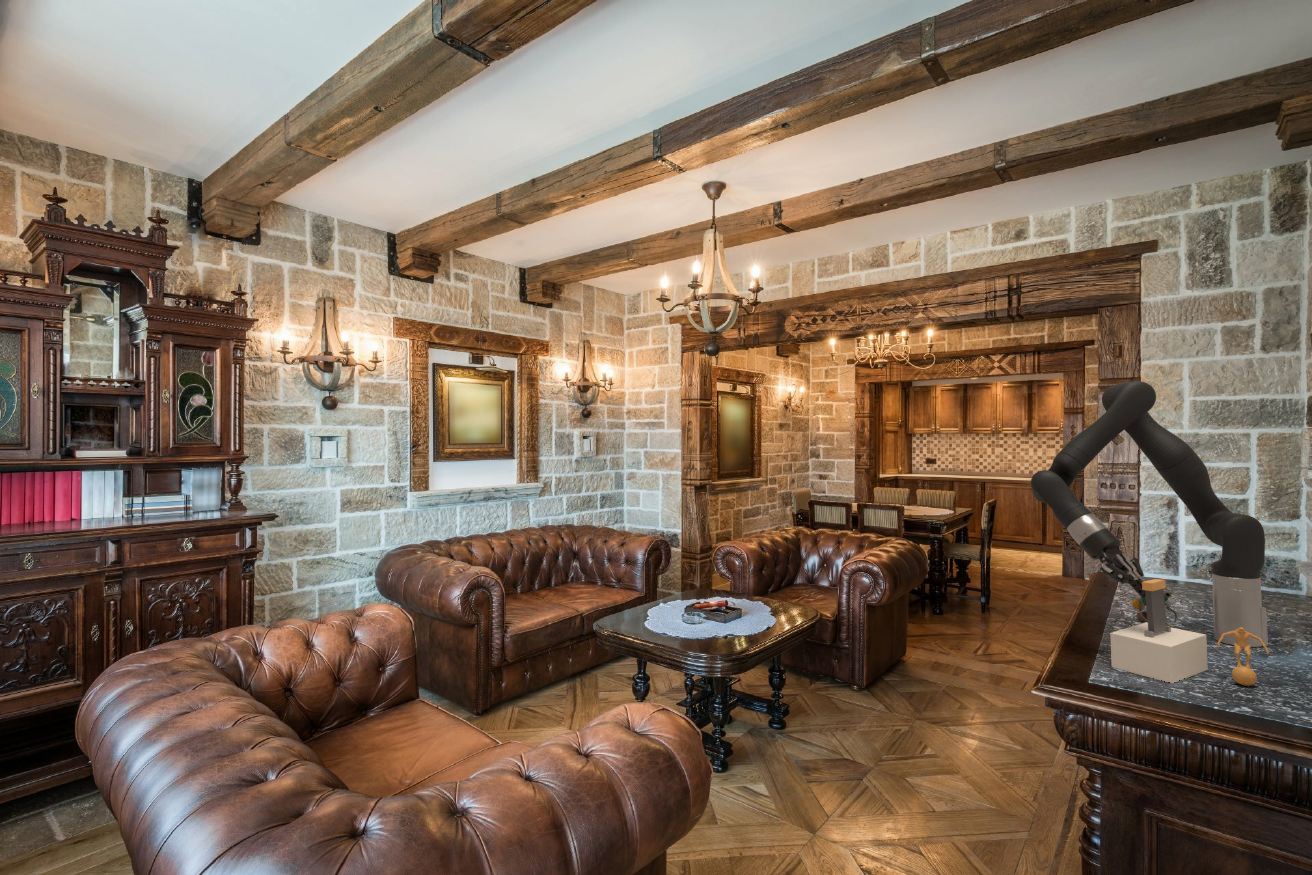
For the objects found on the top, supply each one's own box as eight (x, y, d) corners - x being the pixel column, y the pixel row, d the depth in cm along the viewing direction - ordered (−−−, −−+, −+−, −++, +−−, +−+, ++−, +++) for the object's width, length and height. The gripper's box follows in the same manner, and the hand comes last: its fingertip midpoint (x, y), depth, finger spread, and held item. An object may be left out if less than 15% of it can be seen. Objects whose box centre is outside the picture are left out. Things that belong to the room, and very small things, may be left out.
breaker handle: (1146, 633, 145) (1141, 582, 146) (1159, 629, 148) (1155, 578, 149) (1156, 635, 144) (1151, 583, 144) (1169, 631, 146) (1165, 580, 147)
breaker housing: (1111, 666, 147) (1110, 627, 148) (1147, 654, 155) (1145, 617, 155) (1172, 683, 137) (1170, 641, 137) (1207, 669, 144) (1206, 629, 144)
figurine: (1219, 683, 136) (1217, 628, 136) (1217, 675, 141) (1215, 621, 141) (1272, 692, 131) (1270, 634, 131) (1268, 683, 136) (1266, 627, 136)
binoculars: (1172, 631, 179) (1158, 597, 184) (1192, 621, 171) (1176, 586, 177) (1137, 631, 180) (1124, 597, 185) (1155, 621, 172) (1141, 586, 177)
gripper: (1088, 529, 153) (1146, 590, 142) (1119, 525, 159) (1176, 583, 148) (1066, 547, 158) (1120, 608, 147) (1096, 542, 163) (1151, 600, 153)
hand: (1148, 595), depth 147 cm, fingers closed
